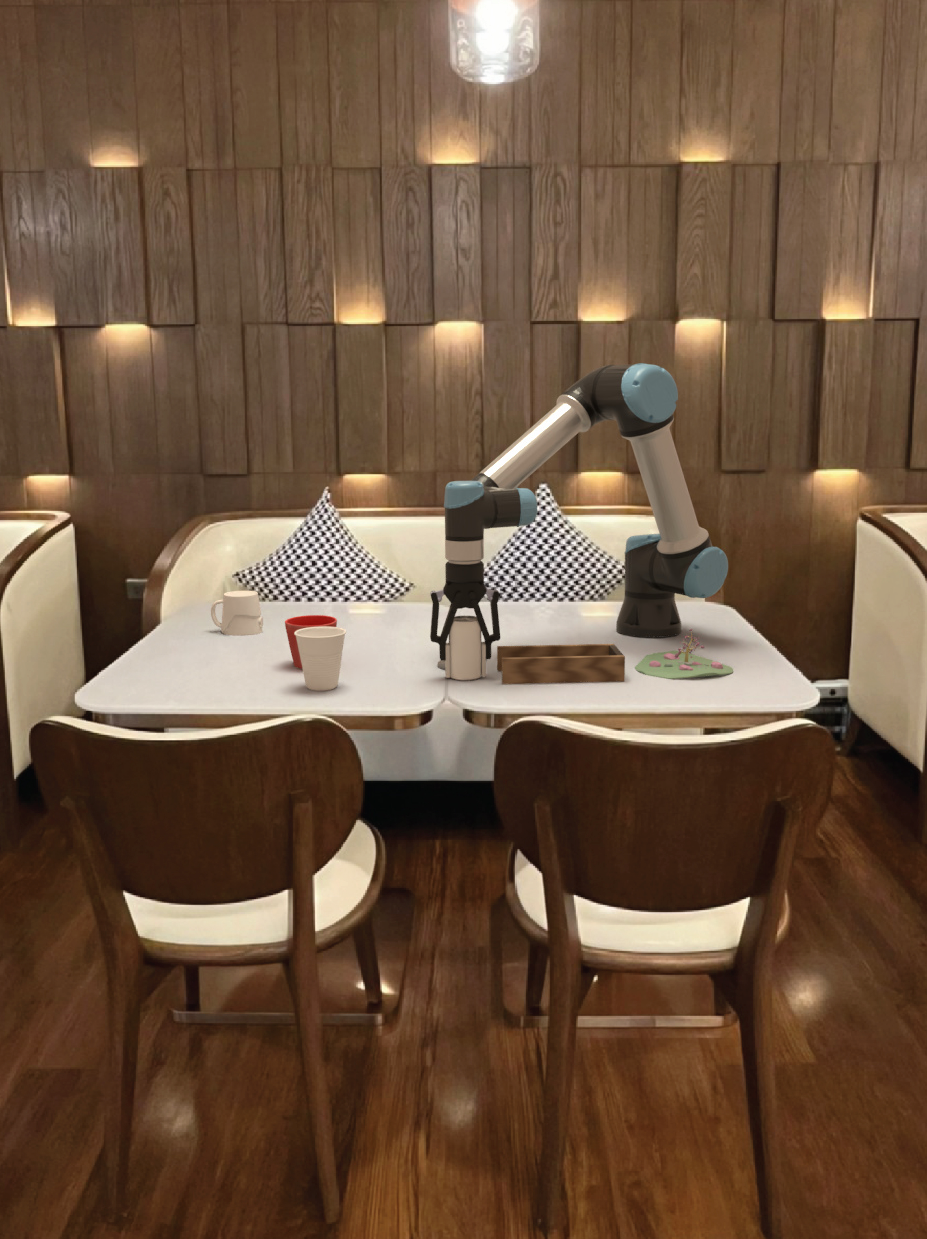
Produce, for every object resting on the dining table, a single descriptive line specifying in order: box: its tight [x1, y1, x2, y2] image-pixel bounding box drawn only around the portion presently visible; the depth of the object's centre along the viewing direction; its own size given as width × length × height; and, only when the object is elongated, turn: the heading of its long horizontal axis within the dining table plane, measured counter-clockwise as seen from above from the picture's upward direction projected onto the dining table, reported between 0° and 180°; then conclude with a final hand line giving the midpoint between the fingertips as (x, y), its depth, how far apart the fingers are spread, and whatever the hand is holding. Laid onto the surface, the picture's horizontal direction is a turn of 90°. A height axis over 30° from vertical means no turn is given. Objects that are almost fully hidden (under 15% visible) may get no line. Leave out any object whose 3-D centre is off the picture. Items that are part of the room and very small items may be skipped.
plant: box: [634, 628, 734, 680], centre depth 238 cm, size 25×21×9 cm
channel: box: [496, 643, 626, 685], centre depth 230 cm, size 24×11×5 cm, turn 94°
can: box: [448, 615, 482, 682], centre depth 228 cm, size 6×6×12 cm
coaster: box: [437, 659, 445, 671], centre depth 239 cm, size 10×10×1 cm
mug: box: [210, 590, 264, 637], centre depth 272 cm, size 12×9×8 cm
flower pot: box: [284, 614, 338, 670], centre depth 239 cm, size 11×11×10 cm
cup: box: [294, 626, 347, 692], centre depth 221 cm, size 10×10×11 cm
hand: (465, 675), depth 229 cm, fingers closed on can, 6 cm apart
